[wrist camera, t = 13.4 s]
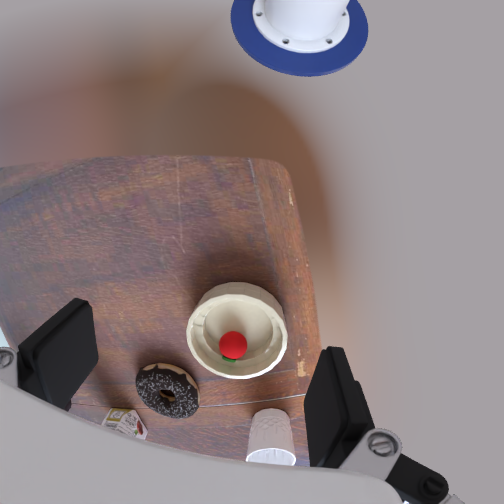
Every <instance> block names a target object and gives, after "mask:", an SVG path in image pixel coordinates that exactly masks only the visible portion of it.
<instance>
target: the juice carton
mask: <svg viewBox="0 0 504 504" xmlns="http://www.w3.org/2000/svg"><path fill="white" fill-rule="evenodd" d="M101 426H104V427H106V428H109V429H112V430H115V431H118V432H121V433H124V434H127V435H130V436H133V437H136V438H139V439H143V440H145V438H146V435H147V429H146V428H145V426H144V424H143V423H142V422H141V420H140V418H139V416H138V414H137V412H136V411H135V410H132V409H117V408H111V409H110V411H109V412H108V414H107V415H106V417H105V419H104V420H103V422H102V424H101Z"/></svg>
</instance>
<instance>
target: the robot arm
mask: <svg viewBox="0 0 504 504" xmlns="http://www.w3.org/2000/svg"><path fill="white" fill-rule="evenodd" d="M349 1H350V0H255V2H254V5H253V20H254V23H255V25H256V27H257V29H258V30H259V32H260V33H261V34H262V35H263V36H264V37H265V38H266V39H267V40H268V41H270V42H271V43H273V44H274V45H276V46H278V47H280V48H283V49H286V50H289V51H293V52H298V53H318V52H322V51H326V50H328V49H330V48H333V47H334V46H336V45H337V44H338V43H340V42H341V40H342V39H343V38H344V37H345V35H346V33H347V31H348V28H349V20H350V19H349V14H348V11H347V9H346V6H347V5H348V3H349ZM327 42H329V43H330V44H329V43H327ZM284 43H287V44H284ZM18 348H19V352H17V353H16V352H15V350H13V349H12V348H9V347H0V504H465V503H464V502H463V501H461V500H460V499H459V498H458V497H457V496H456V495H455V494H453V496H450V495H449V494H448V490H449V488H448V483H447V481H446V480H445V478H444V477H443V476H442V475H440V474H439V473H437V472H435V471H433V470H431V469H429V468H427V467H425V466H423V465H421V464H419V463H418V462H416V461H414V460H412V459H411V458H409V457H407V456H405V455H403V454H401V451H402V443H401V440H400V438H398V436H397V435H396V434H395V433H393V432H391V431H389V430H386V429H382V428H377V429H375V426H374V423H373V420H372V417H371V414H370V411H369V408H368V405H367V402H366V400H365V396H364V394H363V391H362V388H361V385H360V383H359V382H358V381H355V380H354V378H353V375H352V372H351V369H350V366H349V363H348V360H347V358H346V355H345V352H344V349H343V348H341V347H332V346H328V347H327V349H326V350H324V349H323V350H322V351H321V354H320V357H319V360H318V363H317V366H316V369H315V371H314V374H313V377H312V380H311V383H310V385H309V388H308V391H307V393H306V396H305V399H304V413H305V421H306V430H307V440H308V449H309V459H310V467H306V466H290V465H277V464H266V463H257V462H249V461H241V460H234V459H227V458H221V457H215V456H209V455H204V454H199V453H194V452H189V451H185V450H181V449H176V448H172V447H168V446H164V445H160V444H157V443H153V442H150V441H146V440H143V439H139V438H136V437H133V436H130V435H127V434H124V433H121V432H118V431H115V430H112V429H109V428H106V427H104V426H101V425H98V424H96V423H93V422H91V421H88V420H86V419H83V418H81V417H78V416H76V415H74V414H71V413H69V412H67V411H65V410H63V409H64V408H65V406H66V405H67V404H68V402H69V401H70V399H71V398H72V397H73V395H74V394H75V393H76V391H77V390H78V388H79V387H80V386H81V384H82V383H83V382H84V380H85V379H86V378H87V376H88V375H89V374H90V372H91V371H92V370H93V368H94V367H95V366H96V364H97V362H98V351H97V344H96V337H95V330H94V321H93V312H92V307H91V306H90V305H89V303H88V301H86V300H82V299H79V298H74V299H73V300H72V301H70V302H69V303H68V304H67V305H66V306H64V307H63V308H62V309H61V310H59V311H58V312H57V313H56V314H55V315H53V316H52V317H51V318H50V319H49V320H47V321H46V322H45V323H44V324H43V325H42V326H40V327H39V328H38V329H37V330H36V331H35V332H33V333H32V334H31V335H30V336H29V337H28V338H27V339H25V340H24V341H23V342H22V343H21V344H20V345H19V346H18Z"/></svg>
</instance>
